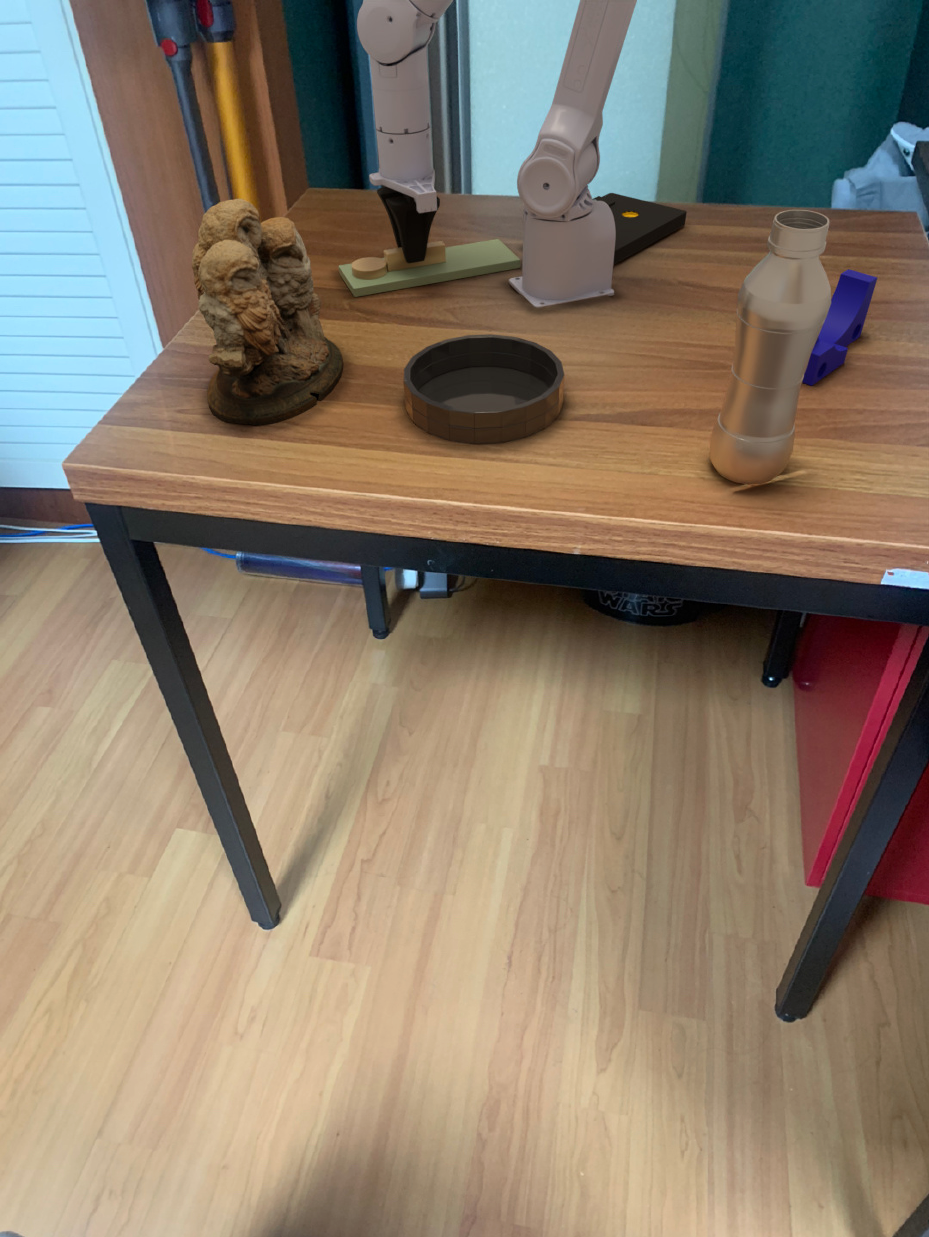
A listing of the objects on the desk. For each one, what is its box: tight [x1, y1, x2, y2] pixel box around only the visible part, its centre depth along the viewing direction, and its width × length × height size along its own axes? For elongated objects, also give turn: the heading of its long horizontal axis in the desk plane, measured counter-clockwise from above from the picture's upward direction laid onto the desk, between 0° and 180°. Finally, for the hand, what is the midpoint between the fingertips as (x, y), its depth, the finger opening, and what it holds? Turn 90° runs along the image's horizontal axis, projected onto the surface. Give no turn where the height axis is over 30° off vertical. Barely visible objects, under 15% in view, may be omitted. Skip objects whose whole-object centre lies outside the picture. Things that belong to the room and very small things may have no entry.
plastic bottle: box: [709, 209, 832, 486], centre depth 66 cm, size 6×7×20 cm
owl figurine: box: [191, 198, 344, 427], centre depth 79 cm, size 18×12×17 cm, turn 169°
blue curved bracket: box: [802, 268, 878, 387], centre depth 85 cm, size 12×4×6 cm, turn 134°
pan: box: [403, 333, 565, 445], centre depth 80 cm, size 14×14×4 cm
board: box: [338, 238, 521, 298], centre depth 104 cm, size 20×7×1 cm, turn 110°
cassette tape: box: [592, 192, 688, 266], centre depth 109 cm, size 18×12×2 cm, turn 139°
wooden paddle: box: [351, 240, 446, 280], centre depth 102 cm, size 11×4×2 cm, turn 110°
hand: (412, 257), depth 102 cm, fingers closed
